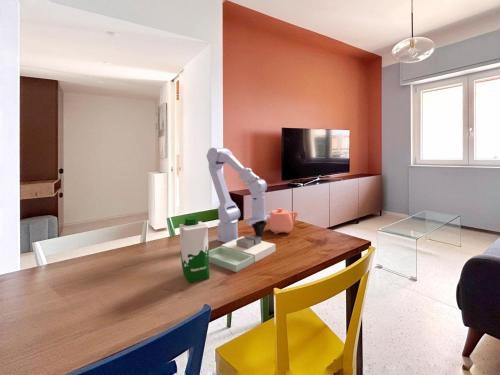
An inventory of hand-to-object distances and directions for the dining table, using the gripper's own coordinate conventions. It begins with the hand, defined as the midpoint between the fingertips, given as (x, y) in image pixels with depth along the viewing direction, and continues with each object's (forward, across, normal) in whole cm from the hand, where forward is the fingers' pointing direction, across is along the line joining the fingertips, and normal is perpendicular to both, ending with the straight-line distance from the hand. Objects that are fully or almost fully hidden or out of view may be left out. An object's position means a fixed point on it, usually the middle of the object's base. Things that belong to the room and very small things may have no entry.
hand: (259, 237), depth 118 cm
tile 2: (+1, -5, 0) cm, 5 cm away
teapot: (+4, +24, +5) cm, 24 cm away
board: (+4, -8, 0) cm, 9 cm away
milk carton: (+4, -36, 0) cm, 36 cm away
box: (+4, -20, 0) cm, 20 cm away
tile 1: (+1, -10, 0) cm, 10 cm away
